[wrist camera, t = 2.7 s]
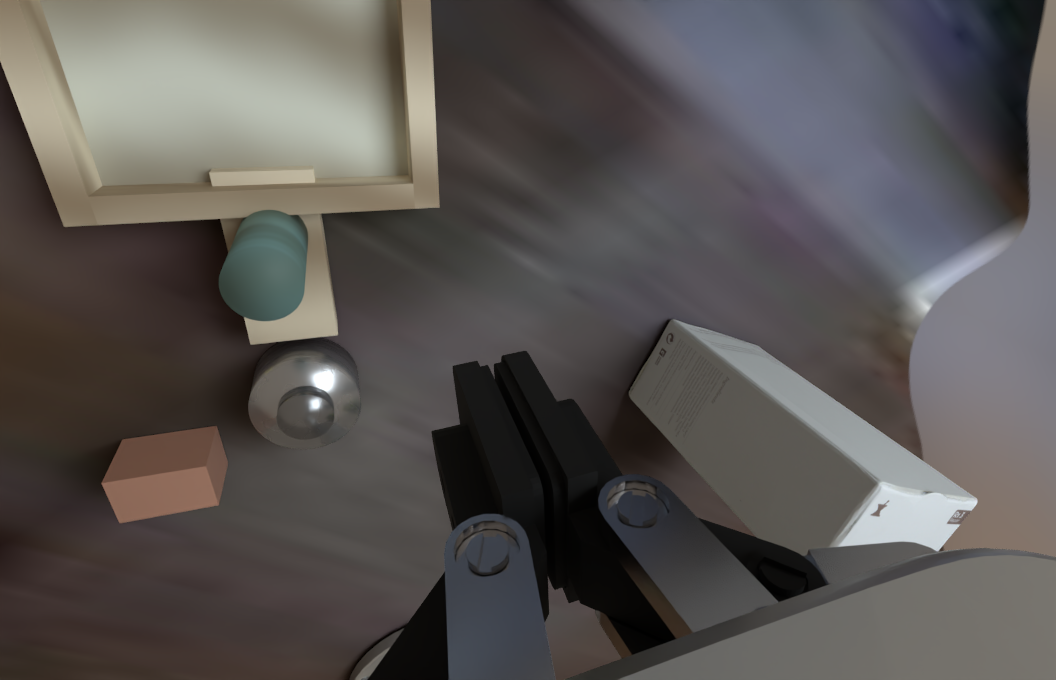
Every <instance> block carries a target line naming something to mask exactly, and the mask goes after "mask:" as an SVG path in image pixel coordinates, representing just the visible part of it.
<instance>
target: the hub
mask: <svg viewBox="0 0 1056 680" xmlns="http://www.w3.org/2000/svg"><path fill="white" fill-rule="evenodd" d="M360 409H361V399H360V388H359V378H358V370H357V366H356V364H355V361H354V360H353V358H352V357H351V355H350V354H349V353H348V352H347V351H346V350H345V349H344V348H343V347H341V346H340V345H338V344H336V343H335V342H332V341H330V340H327V339H324V338H320V337H316V338H307V339H298V340H289V341H281V342H279V343H277V344H275V345H274V346H272V347H271V348H270V349H268V350H267V351H266V352H265V353H264V354H263V356H262V357H261V358H260V360H259V361H258V363H257V366H256V369H255V373H254V378H253V383H252V388H251V393H250V398H249V404H248V412H249V417H250V420H251V422H252V424H253V426H254V427H255V429H256V430H257V431H258V432H259V433H260V434H261V435H262V436H263V437H264V438H266V439H267V440H269V441H271V442H273V443H275V444H277V445H279V446H283V447H286V448H292V449H313V448H319V447H323V446H326V445H329V444H331V443H333V442H335V441H337V440H339V439H340V438H342V437H343V436H344V435H346V434H347V433H348V432H349V431H350V430H351V429H352V427H353V426H354V425H355V423H356V421H357V419H358V417H359V414H360Z"/></svg>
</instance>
